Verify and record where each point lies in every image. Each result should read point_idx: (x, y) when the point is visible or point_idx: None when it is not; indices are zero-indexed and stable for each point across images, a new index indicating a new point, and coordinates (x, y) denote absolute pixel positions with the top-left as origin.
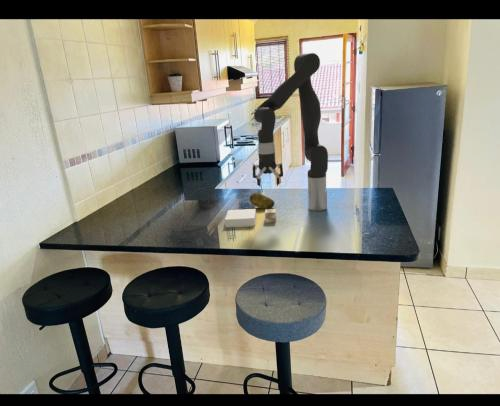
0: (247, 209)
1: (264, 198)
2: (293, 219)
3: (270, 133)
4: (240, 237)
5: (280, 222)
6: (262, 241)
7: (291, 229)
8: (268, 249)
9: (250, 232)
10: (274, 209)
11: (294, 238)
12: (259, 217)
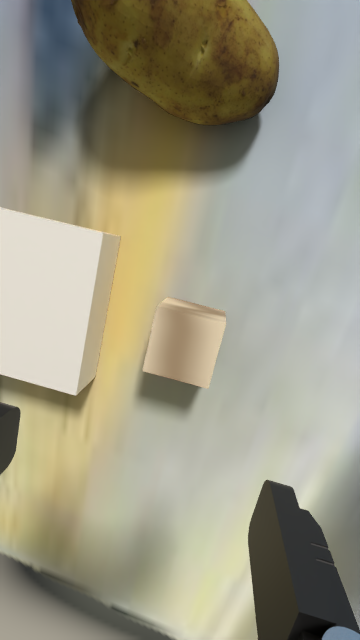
0: (48, 224)
1: (197, 44)
2: (314, 367)
3: None
4: (23, 471)
5: (231, 380)
6: (105, 539)
7: (256, 483)
8: (116, 604)
9: (67, 440)
10: (216, 332)
11: (237, 567)
12: (136, 262)
